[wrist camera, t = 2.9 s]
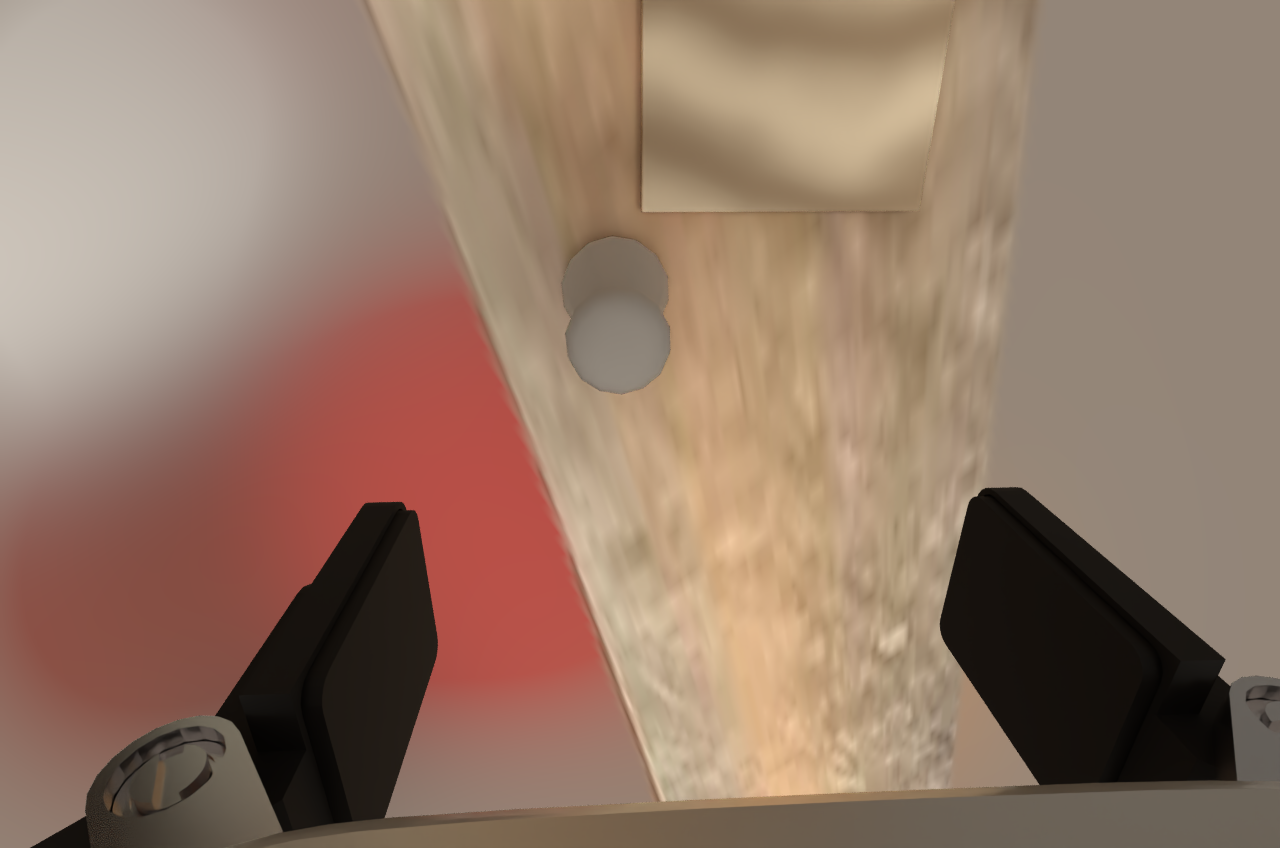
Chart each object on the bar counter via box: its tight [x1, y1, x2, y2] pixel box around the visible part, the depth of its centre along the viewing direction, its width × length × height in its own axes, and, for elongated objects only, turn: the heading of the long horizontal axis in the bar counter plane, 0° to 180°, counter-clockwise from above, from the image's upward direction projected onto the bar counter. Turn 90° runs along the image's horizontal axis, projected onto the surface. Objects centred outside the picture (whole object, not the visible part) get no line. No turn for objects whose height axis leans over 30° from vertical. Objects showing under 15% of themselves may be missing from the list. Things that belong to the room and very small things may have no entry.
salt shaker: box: [562, 236, 670, 394], centre depth 31 cm, size 6×6×13 cm
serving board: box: [641, 0, 955, 212], centre depth 32 cm, size 18×15×2 cm
